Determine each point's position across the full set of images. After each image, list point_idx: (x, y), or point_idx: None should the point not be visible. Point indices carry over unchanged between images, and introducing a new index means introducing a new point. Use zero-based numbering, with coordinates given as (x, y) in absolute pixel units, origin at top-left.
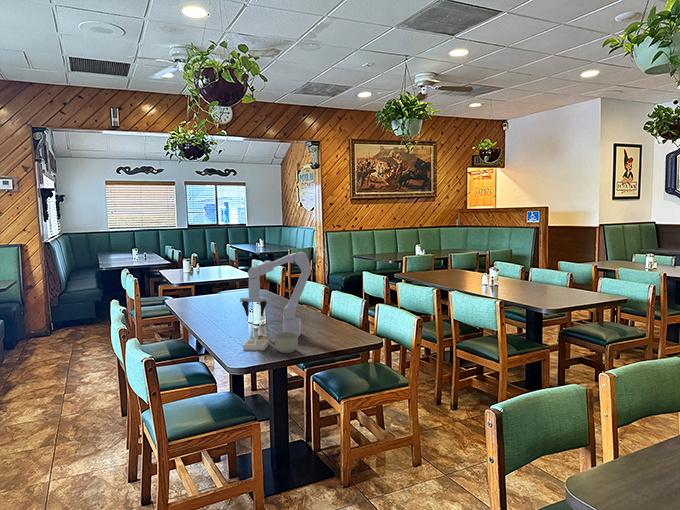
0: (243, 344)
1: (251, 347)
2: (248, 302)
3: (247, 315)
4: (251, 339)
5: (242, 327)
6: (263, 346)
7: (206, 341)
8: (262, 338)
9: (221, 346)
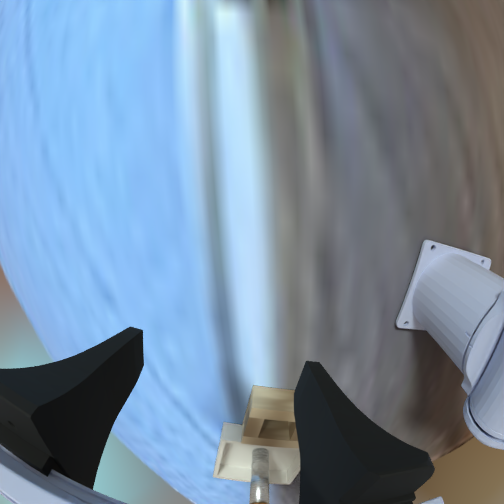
0: (214, 476)
1: (244, 474)
2: (49, 422)
3: (141, 369)
4: (236, 443)
5: (138, 45)
6: (287, 480)
7: (44, 341)
8: (287, 446)
9: (124, 418)
